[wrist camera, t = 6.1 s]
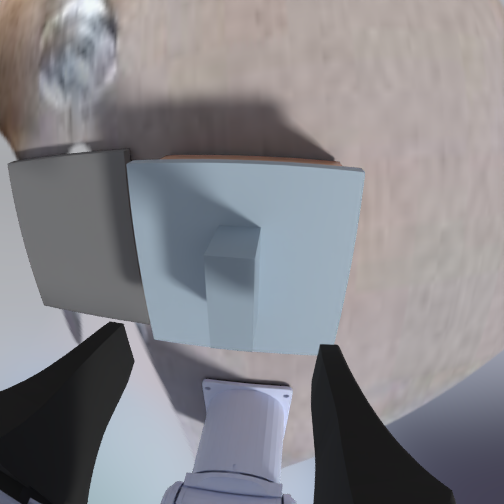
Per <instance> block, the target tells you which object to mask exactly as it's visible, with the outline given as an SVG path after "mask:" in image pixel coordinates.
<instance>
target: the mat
mask: <svg viewBox="0 0 504 504" xmlns="http://www.w3.org/2000/svg"><path fill="white" fill-rule="evenodd" d="M129 162H131V161H130V149H118V150H104V151H92V152H82V153H72V154H63V155H54V156H46V157H39V158H32V159H25V160H18V161H13V162H11V163H9V164H8V170H9V176H10V182H11V187H12V193H13V198H14V203H15V208H16V212H17V216H18V221H19V225H20V229H21V233H22V237H23V240H24V244H25V248H26V251H27V255H28V258H29V262H30V265H31V268H32V271H33V274H34V277H35V280H36V283H37V286H38V289H39V292H40V295H41V298H42V300H43V303H44V305H45V306H50V307H55V308H59V309H64V310H69V311H74V312H79V313H84V314H90V315H95V316H101V317H107V318H112V319H118V320H124V321H131V322H137V323H144V324H150V318H149V313H148V309H147V304H146V299H145V294H144V288H143V283H142V277H141V272H140V266H139V260H138V254H137V247H136V241H135V234H134V227H133V220H132V212H131V204H130V195H129V186H128V176H127V165H126V164H127V163H129Z"/></svg>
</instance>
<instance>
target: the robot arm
mask: <svg viewBox="0 0 504 504" xmlns="http://www.w3.org/2000/svg"><path fill="white" fill-rule="evenodd" d="M133 364H134V358H133V355H132V351H131V348H130V345H129V341H128V338H127V334H126V331H125V327H124V324H122V323H116V322H109V323H107V324H106V325H104V326H103V327H102V328H100V329H99V330H98V331H96V332H95V333H94V334H92V335H91V336H90V337H89V338H87V339H86V340H85V341H83V342H82V343H81V344H79V345H78V346H77V347H76V348H74V349H73V350H72V351H70V352H69V353H68V354H66V355H65V356H63V357H62V358H60V359H59V360H58V361H56V362H55V363H53V364H52V365H50V366H49V367H47V368H46V369H44V370H42V371H41V372H39V373H38V374H36V375H34V376H32V377H30V378H29V379H27V380H25V381H23V382H20V383H18V384H16V385H14V386H12V387H10V388H8V389H5V390H3V391H0V504H87V502H88V495H89V488H90V483H91V477H92V473H93V469H94V465H95V461H96V457H97V454H98V450H99V447H100V444H101V441H102V438H103V435H104V432H105V430H106V427H107V425H108V423H109V421H110V419H111V416H112V414H113V412H114V410H115V408H116V406H117V404H118V402H119V400H120V398H121V396H122V393H123V391H124V389H125V387H126V385H127V383H128V380H129V377H130V374H131V371H132V367H133ZM202 387H203V393H204V400H205V406H206V412H207V415H206V419H205V423H204V427H203V431H202V435H201V439H200V443H199V447H198V451H197V455H196V459H195V464H194V468H193V472H192V473H186V477H185V481H184V482H181V481H177V482H175V483H174V484H173V485H172V486H170V487H169V488H168V489H167V490H166V492H165V494H164V496H163V499H162V501H161V504H296V501H295V500H294V499H293V498H291V495H290V494H283V495H282V484H280V475H281V461H282V446H283V438H284V434H285V429H286V424H287V419H288V414H289V409H290V404H291V398H292V393H293V390H292V388H291V387H288V386H273V385H260V384H249V383H238V382H229V381H220V380H212V379H204V380H203V383H202ZM311 412H312V424H313V436H314V448H315V463H316V464H315V470H316V471H315V489H314V503H313V504H456V502H455V498H454V496H453V492H452V490H450V489H449V488H448V487H447V486H445V485H444V484H442V483H441V482H440V481H438V480H437V479H436V478H435V477H433V476H432V475H431V474H430V473H429V472H427V471H426V470H425V469H424V468H423V467H422V466H420V464H419V463H417V461H415V459H414V458H412V456H411V455H410V454H408V452H407V451H406V450H405V449H404V448H403V447H402V446H401V445H400V444H399V443H398V442H397V441H396V439H395V438H394V437H393V436H392V434H391V433H390V432H389V431H388V429H387V428H386V427H385V426H384V424H383V423H382V422H381V420H380V419H379V417H378V416H377V415H376V413H375V412H374V410H373V409H372V407H371V406H370V404H369V403H368V401H367V399H366V398H365V396H364V394H363V393H362V391H361V389H360V387H359V386H358V384H357V382H356V380H355V379H354V377H353V375H352V373H351V371H350V369H349V367H348V365H347V363H346V361H345V359H344V357H343V354H342V352H341V350H340V347H339V346H338V345H331V344H320V346H319V351H318V355H317V360H316V364H315V369H314V373H313V378H312V387H311Z"/></svg>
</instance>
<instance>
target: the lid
mask: <svg viewBox="0 0 504 504" xmlns="http://www.w3.org/2000/svg"><path fill="white" fill-rule="evenodd" d="M126 165H127V176H128V186H129V195H130V204H131V212H132V220H133V227H134V234H135V241H136V247H137V254H138V260H139V266H140V272H141V277H142V283H143V288H144V294H145V299H146V304H147V309H148V313H149V318H150V323H151V327H152V332H153V336H154V340H161V341H168V342H175V343H182V344H189V345H197V346H205V347H211V348H218V349H227V350H237V351H248V352H252V351H255V352H267V353H282V354H299V355H318V351H319V346H320V344H331V345H334V342H335V338H336V334H337V329H338V325H339V321H340V316H341V312H342V307H343V303H344V298H345V293H346V288H347V283H348V278H349V273H350V268H351V263H352V257H353V251H354V246H355V240H356V234H357V228H358V221H359V215H360V208H361V201H362V193H363V186H364V178H365V172H364V171H363V169H362V168H354V167H344V166H334V165H322V164H310V163H296V162H279V161H259V160H229V159H157V160H133V161H131V162H129V163H127V164H126Z"/></svg>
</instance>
